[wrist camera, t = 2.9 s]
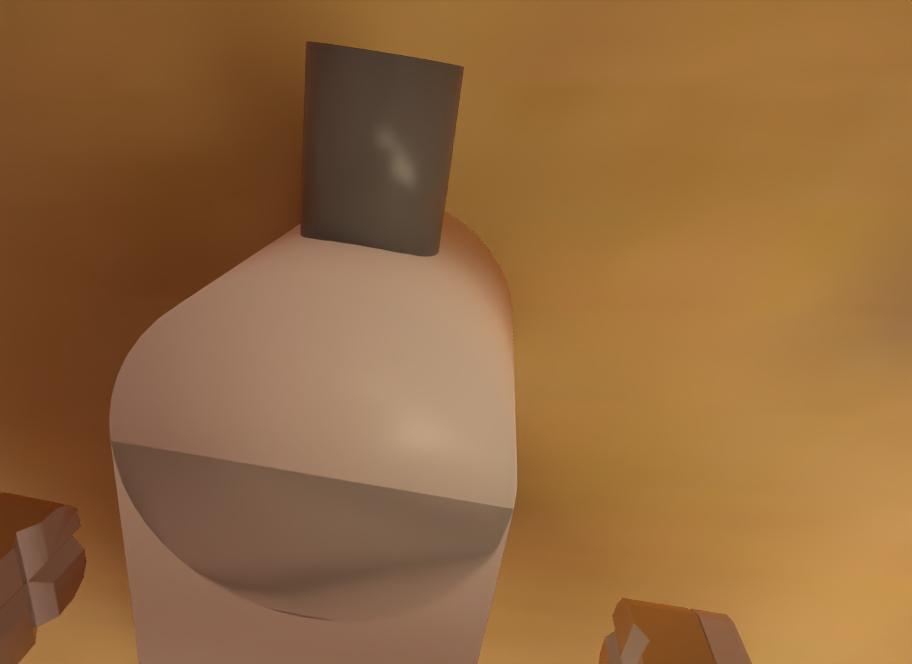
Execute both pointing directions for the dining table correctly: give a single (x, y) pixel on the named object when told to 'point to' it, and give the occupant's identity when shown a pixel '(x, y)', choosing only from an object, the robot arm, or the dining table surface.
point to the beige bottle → (330, 409)
